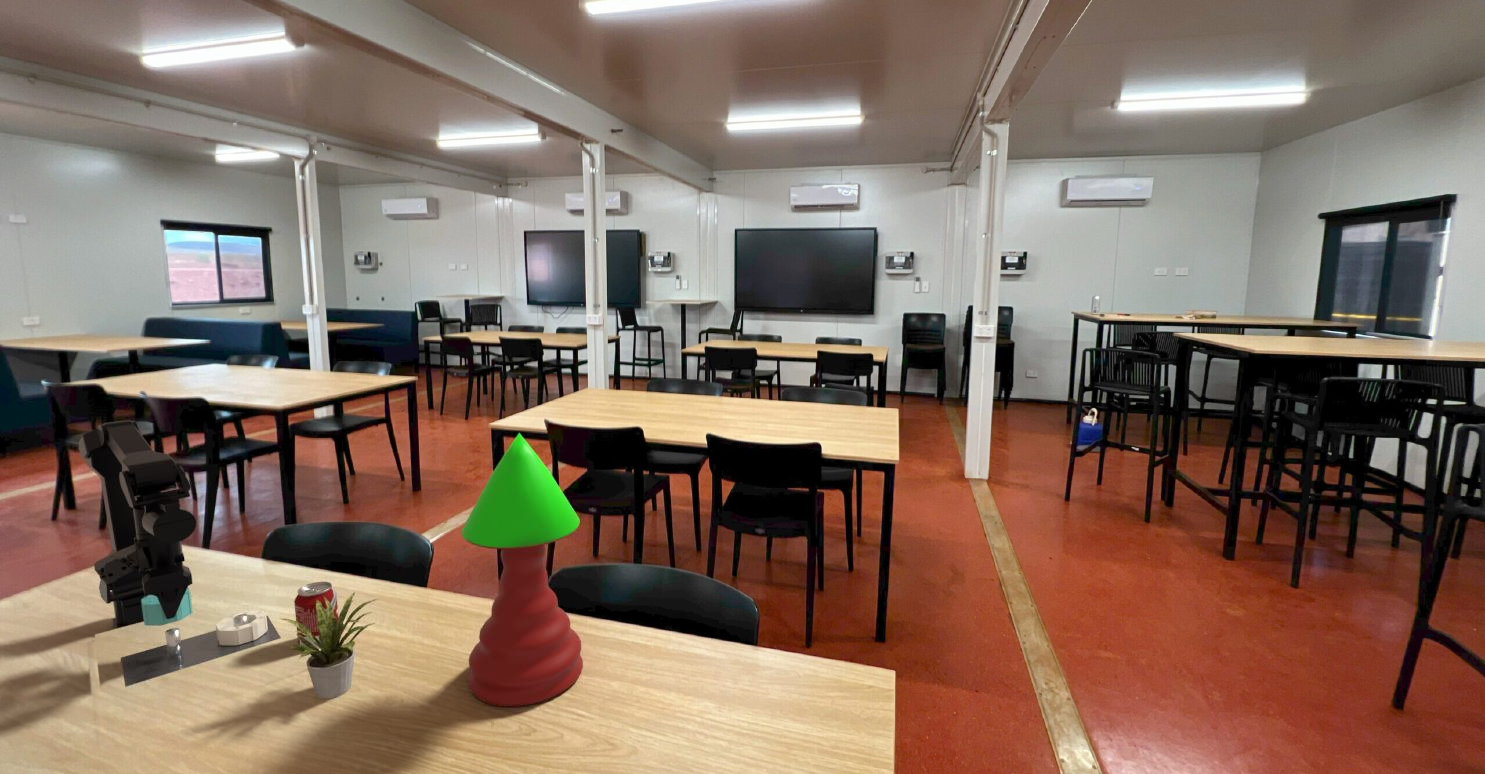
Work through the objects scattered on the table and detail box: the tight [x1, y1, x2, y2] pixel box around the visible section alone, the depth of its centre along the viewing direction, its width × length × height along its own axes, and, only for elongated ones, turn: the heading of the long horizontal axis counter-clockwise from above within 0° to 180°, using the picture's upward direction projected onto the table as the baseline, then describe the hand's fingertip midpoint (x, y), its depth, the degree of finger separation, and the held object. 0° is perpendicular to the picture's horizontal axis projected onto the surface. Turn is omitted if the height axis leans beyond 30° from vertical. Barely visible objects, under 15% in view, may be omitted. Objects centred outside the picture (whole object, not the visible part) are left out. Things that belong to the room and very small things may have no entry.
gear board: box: [120, 614, 282, 687], centre depth 122 cm, size 12×22×6 cm, turn 136°
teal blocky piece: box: [141, 587, 194, 627], centre depth 118 cm, size 7×7×4 cm
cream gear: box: [215, 610, 268, 646], centre depth 127 cm, size 8×8×3 cm
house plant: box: [279, 592, 378, 700], centre depth 112 cm, size 14×14×16 cm
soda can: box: [293, 581, 339, 650], centre depth 125 cm, size 7×7×12 cm
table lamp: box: [461, 432, 584, 707], centre depth 115 cm, size 20×20×45 cm
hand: (168, 611), depth 118 cm, fingers closed on teal blocky piece, 7 cm apart
